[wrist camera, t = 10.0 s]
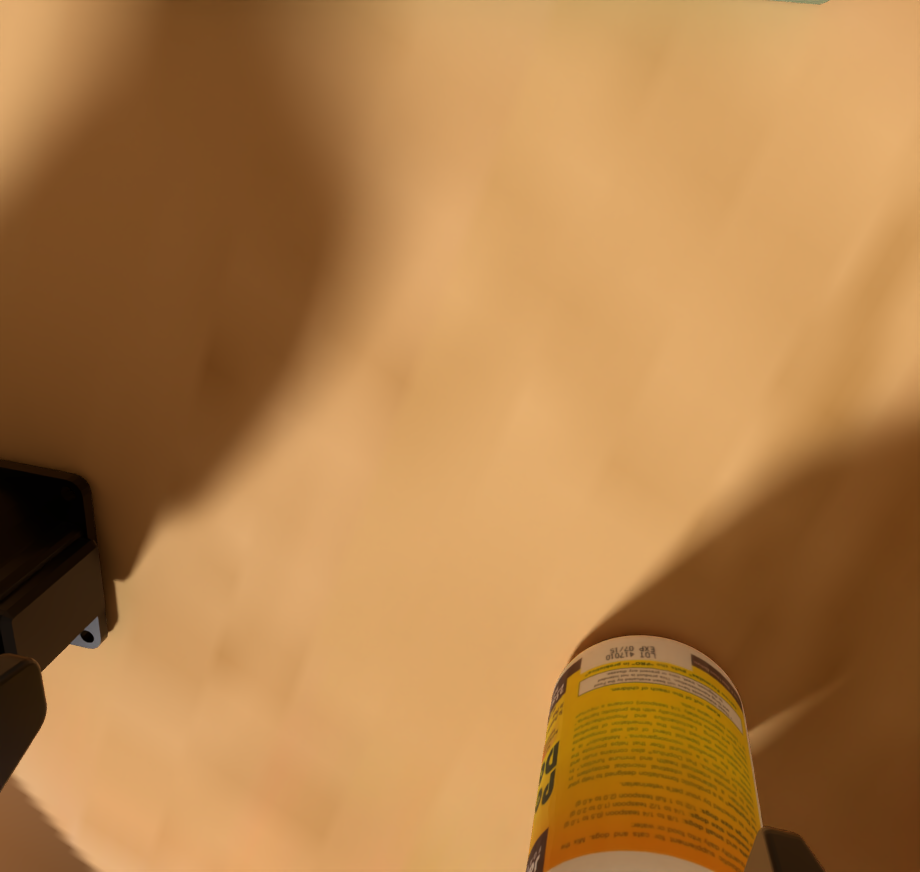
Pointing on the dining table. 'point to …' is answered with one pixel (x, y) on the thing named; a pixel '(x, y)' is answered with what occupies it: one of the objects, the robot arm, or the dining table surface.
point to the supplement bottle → (645, 765)
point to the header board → (805, 1)
